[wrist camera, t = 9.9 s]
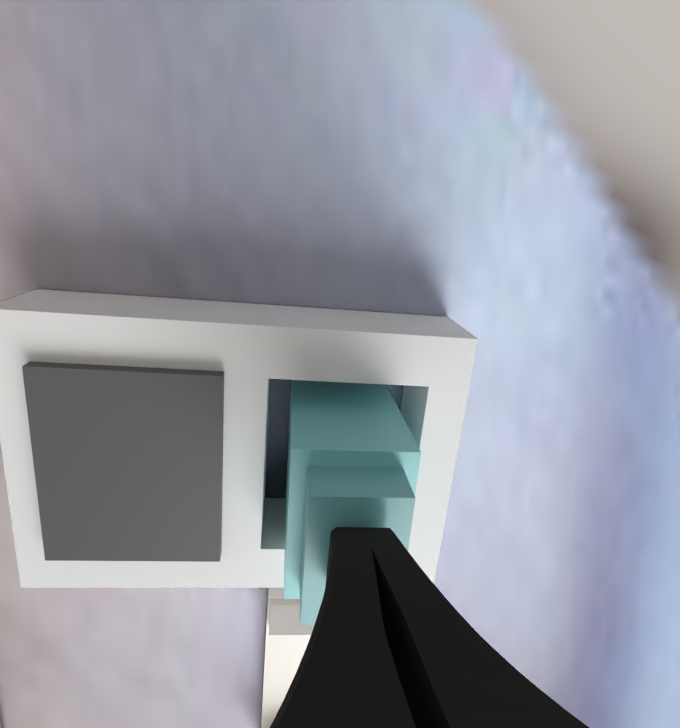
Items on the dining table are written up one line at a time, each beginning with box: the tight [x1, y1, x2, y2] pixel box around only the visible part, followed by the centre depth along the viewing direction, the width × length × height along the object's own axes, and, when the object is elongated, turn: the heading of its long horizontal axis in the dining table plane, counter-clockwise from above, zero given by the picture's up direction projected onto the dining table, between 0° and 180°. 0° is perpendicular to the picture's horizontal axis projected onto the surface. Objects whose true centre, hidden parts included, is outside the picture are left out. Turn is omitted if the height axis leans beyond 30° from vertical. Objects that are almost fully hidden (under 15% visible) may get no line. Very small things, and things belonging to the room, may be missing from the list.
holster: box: [261, 588, 314, 728], centre depth 20 cm, size 5×8×2 cm, turn 175°
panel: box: [0, 289, 478, 588], centre depth 16 cm, size 13×9×3 cm
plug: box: [284, 380, 421, 625], centre depth 14 cm, size 3×4×6 cm
